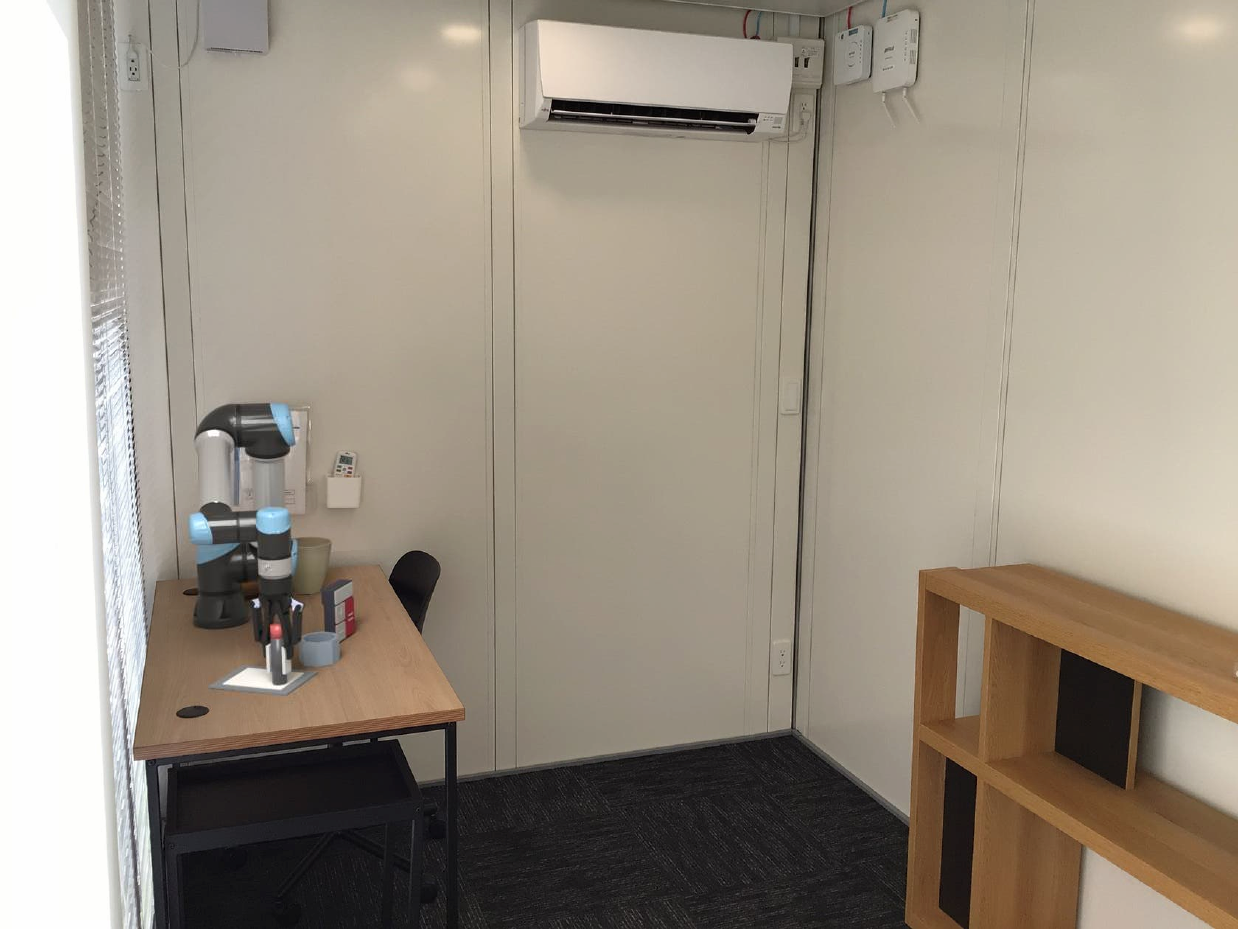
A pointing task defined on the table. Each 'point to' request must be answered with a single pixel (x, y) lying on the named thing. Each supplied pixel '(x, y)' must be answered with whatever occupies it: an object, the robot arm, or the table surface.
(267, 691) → the writing pad
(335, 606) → the grey and red block
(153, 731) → the table surface
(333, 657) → the pen cup
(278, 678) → the marker
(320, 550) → the plant pot
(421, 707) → the table surface
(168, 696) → the table surface
